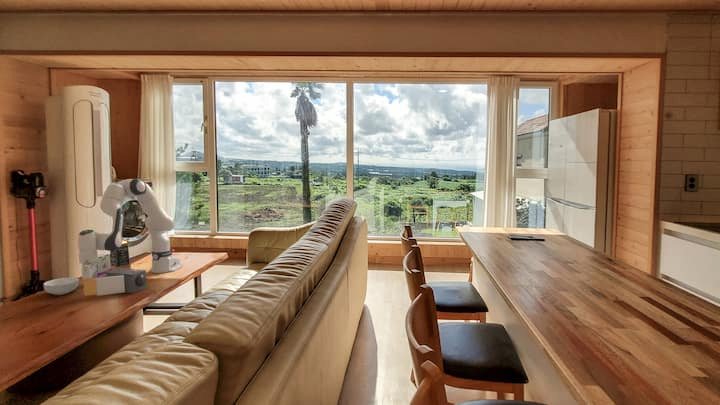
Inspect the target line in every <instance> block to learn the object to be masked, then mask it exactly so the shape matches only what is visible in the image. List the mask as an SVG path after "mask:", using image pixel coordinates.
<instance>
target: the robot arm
mask: <svg viewBox="0 0 720 405" xmlns="http://www.w3.org/2000/svg"><path fill="white" fill-rule="evenodd" d="M130 197H131V198H133V197H135V198H136V200H137V202H138V203H139V206H140V207H141V209H142V211H143V213H144V214H146V218H145V220H144V224H145V227H147V229H148V230H147V231H148V233H149V236H150V239H151V248H152V251H151V257H152V258H151V267H150V272H151V273H154V274H164V273H168V272H169V273H171V272H173V273H174V272H176V271H177V270H179V269H181V268H183V267H184V266H185V265H184V264H182V263H181V260H180V258H179V257H177V256H175V254H173V253H175V251H176V250H175V249H171V243H170V239H171V238H170V237H169V236H168V234H167V233H169V232H171V231H173V230H174V229H175V227H176V226H175V225H176V223H175V219H173V218H172V217H171V216H170V215H169V213H167V211H166V210H165V209H164V208H163V207H162V205H161V203H160V201H159V200H158V198H157V196H156V194H155V192H154V191H153V189H152V188H151V186H150V185H149V184H148V183H146V182H145V181H144V180H143V179H141V178H127V179H123V180H118V181H116V182H114V183H111V184H109V185H108V186H107V187H106V189H105V191H104V193H103V196H102V198H101V201H100V204H99V205H100V206H99V207H100V210H101V211H102V213H104V214H105V215H108V216H109V217H111V218H112V219H113V221H112V222H113V223H112V228H111V232H110V233H100V232H96V231H95V230H94V229H85V230H82V231H80V232H79V233H78V235H77V247H78V261H79V264H80V265H82V266H81V279H82V280H85V279H92V277H93V273H94V272H95V271H96V268H97V261H98V251H109V252H110V251H116V250H118V249H119V248H120V247H121V245H122V239H123V232H124V225H125V224H124V223H125V210H123V203H124V199H125V198H130Z"/></svg>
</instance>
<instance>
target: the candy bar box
mask: <svg viewBox="0 0 720 405" xmlns="http://www.w3.org/2000/svg"><path fill="white" fill-rule="evenodd" d="M97 255H98V254H97ZM110 270H112V269H111V258H110V253H102V254H99V255H98V261H97V268H96V271H95V272H94V273H93V277H92V279H94V278H103V277H107V274H105V272H107V271H110Z"/></svg>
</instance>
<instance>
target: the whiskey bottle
mask: <svg viewBox="0 0 720 405" xmlns="http://www.w3.org/2000/svg"><path fill="white" fill-rule="evenodd" d="M129 245H130V242H128V241H127V240H125V239H123V238H122V245H121V247H120V248H119V249H118V250H116V251H109V254H110V258H111V269H112V270H114V269H117V268H128V269H132V266H131V265H132V264H130V262H131V261H130V252H129Z"/></svg>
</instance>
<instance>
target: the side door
mask: <svg viewBox="0 0 720 405" xmlns="http://www.w3.org/2000/svg"><path fill="white" fill-rule="evenodd" d="M82 282H83V293H84V294H83V295H84V297H87V296H95V295H96V296H98V297H99V296H105V295H114V294H120V293H121V294H122V293H126V292H125V284H124V275H121V276H112V277H103V278H94V279H82Z"/></svg>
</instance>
